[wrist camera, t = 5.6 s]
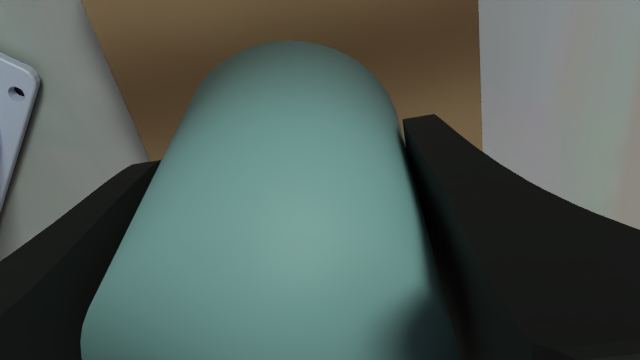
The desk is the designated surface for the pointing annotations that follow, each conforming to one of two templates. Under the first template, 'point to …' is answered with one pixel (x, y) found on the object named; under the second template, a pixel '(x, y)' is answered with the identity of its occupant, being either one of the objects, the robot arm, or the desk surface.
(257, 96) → the teal tapered rounded part
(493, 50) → the desk surface
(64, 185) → the desk surface
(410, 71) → the block
